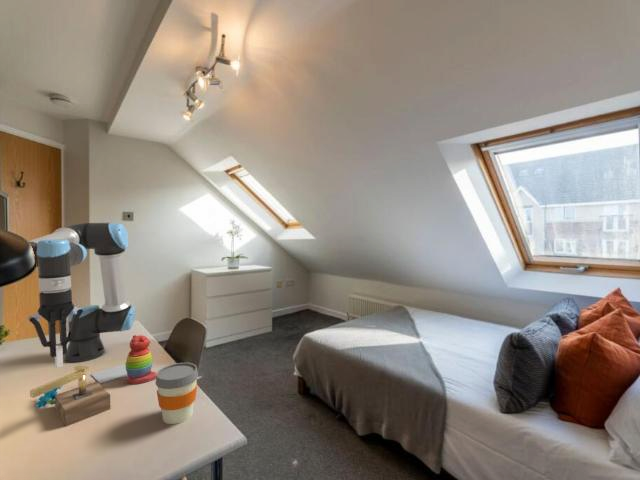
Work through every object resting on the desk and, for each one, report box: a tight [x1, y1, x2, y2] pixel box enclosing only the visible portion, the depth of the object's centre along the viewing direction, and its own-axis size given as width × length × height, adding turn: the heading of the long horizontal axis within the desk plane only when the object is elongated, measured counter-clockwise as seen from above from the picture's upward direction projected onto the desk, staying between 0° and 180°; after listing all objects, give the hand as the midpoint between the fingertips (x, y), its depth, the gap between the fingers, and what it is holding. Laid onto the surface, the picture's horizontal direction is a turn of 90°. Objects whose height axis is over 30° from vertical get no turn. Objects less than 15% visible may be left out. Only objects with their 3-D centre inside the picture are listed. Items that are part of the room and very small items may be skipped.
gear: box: [36, 386, 63, 409], centre depth 110 cm, size 11×6×10 cm
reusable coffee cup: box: [155, 362, 199, 425], centre depth 102 cm, size 12×13×15 cm
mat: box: [90, 363, 128, 385], centre depth 131 cm, size 12×12×1 cm
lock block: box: [54, 381, 112, 427], centre depth 105 cm, size 14×12×5 cm
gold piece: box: [29, 364, 90, 399], centre depth 99 cm, size 15×5×9 cm, turn 160°
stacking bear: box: [125, 334, 157, 385], centre depth 126 cm, size 11×10×18 cm
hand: (59, 365), depth 96 cm, fingers closed
